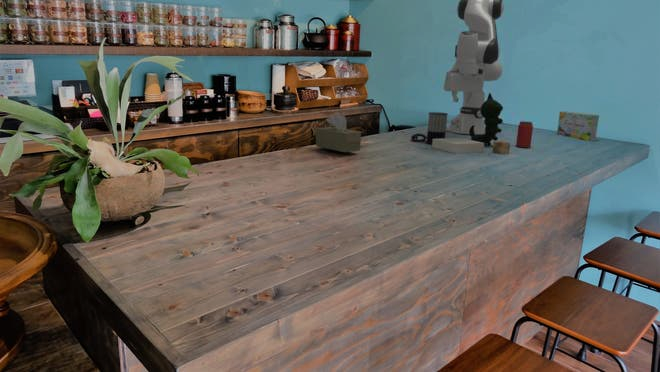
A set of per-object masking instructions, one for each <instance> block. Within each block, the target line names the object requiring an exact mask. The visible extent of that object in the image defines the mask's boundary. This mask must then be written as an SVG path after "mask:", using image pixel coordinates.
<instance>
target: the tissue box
mask: <svg viewBox="0 0 660 372" xmlns="http://www.w3.org/2000/svg"><path fill="white" fill-rule="evenodd" d="M325 120H326V122H327V123H328V124H330V125H331V126H329V127H317V128H316V134H315V135H316V138H315V140H316V142H315V146H316V147H318V148H322V149H327V150H332V151H336V152H341V153H348V152H349V153H350V152H359V151H361V141H362V140H361V139H362V132H361V131H358V130H352V129H347V120H346V116H345V115H344V114H343V115H340V113H339V111H336V112H335V113H333V115H330V116H328V117H327V118H326V119H325Z"/></svg>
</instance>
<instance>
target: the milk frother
mask: <svg viewBox="0 0 660 372" xmlns="http://www.w3.org/2000/svg"><path fill="white" fill-rule="evenodd" d="M448 114H449V113H446V112H437V111H434V112H433V111H432V112H430V111H429V112H428V120H427V121H428V125H427V136H426V135H425V134H424V133H415V134H413V135H411V137H410V139H411V141H413V142H416V143H421V142H422V143H423V142H425V141H426V142H425V143H426V144H427V145H432V142H433V139H444V138H446V134H447V133H446V132H447V130H446V128H447V120H448ZM419 137H422V139H419Z"/></svg>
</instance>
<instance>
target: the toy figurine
mask: <svg viewBox="0 0 660 372" xmlns="http://www.w3.org/2000/svg"><path fill="white" fill-rule="evenodd" d="M503 109H504V107H503V105H502V104H501V103H499V102H498V101H497V100H496V99H494V98H493V96H492V93H491V92H489V93H488V95H487V99H486V100H484V103H483V104H482V106H481V108H480V112H481V115H482V116H483V118H484V131H485V133H484V134H475V133H474V125H473V126H472V127H471V128H470V130H469V134H468V135H469V136H470V137H471V138H470V140H473V141H477V142H482V143H484V147H486V146H491V145H492V142H491V141H499V138H498V137H497V134H498V133H502V129H501V128H499V125H501V124H503V122H504V120H503V118H501V117H500V115H501V113H502V111H504V110H503Z"/></svg>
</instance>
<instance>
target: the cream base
mask: <svg viewBox="0 0 660 372" xmlns="http://www.w3.org/2000/svg"><path fill="white" fill-rule="evenodd" d="M431 148H432V149H437V150H440V151H444V152H448V153H452V154H467V153H469V154H470V153H484V151H485V150H484V149H485V146H484V143H482V142H477V141H473V140H471V139H468V138H462V137H455V138H454V137H451V138H450V137H449V138H448V137H447V138H446V137H445V138H444V139H433V142H432V144H431Z"/></svg>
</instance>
